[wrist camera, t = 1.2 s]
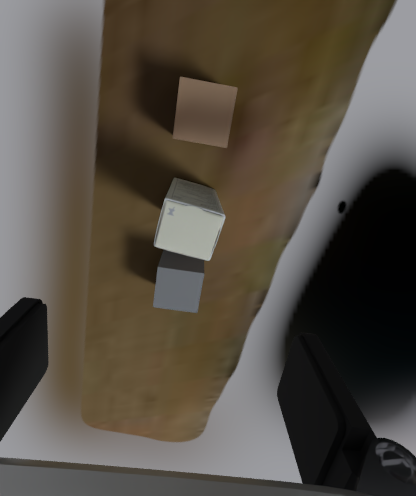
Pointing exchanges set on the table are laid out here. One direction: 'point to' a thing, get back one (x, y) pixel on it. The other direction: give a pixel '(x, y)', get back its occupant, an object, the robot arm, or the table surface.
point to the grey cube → (178, 282)
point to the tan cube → (204, 112)
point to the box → (190, 220)
